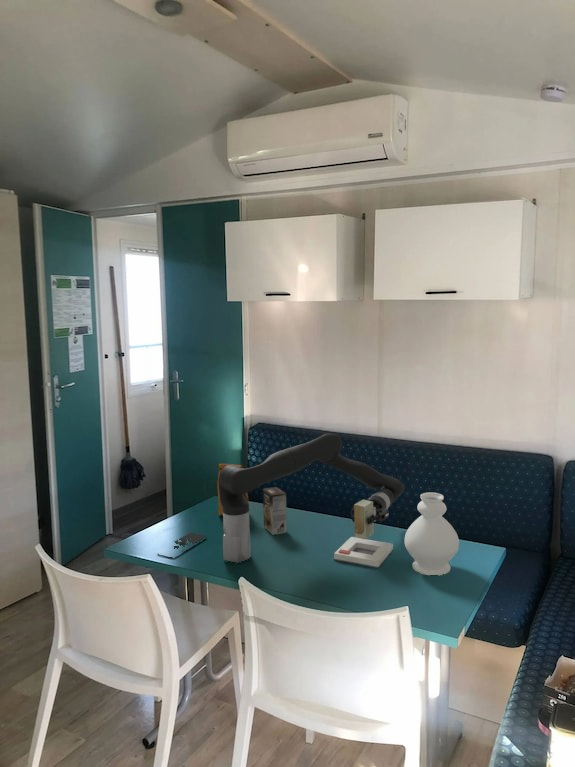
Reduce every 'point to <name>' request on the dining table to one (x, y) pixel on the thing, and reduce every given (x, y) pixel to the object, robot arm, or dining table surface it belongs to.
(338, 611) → the dining table surface
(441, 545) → the decorative vase
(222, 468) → the coffee package
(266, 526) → the coffee box
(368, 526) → the skincare box
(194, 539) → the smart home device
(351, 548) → the socket plate
